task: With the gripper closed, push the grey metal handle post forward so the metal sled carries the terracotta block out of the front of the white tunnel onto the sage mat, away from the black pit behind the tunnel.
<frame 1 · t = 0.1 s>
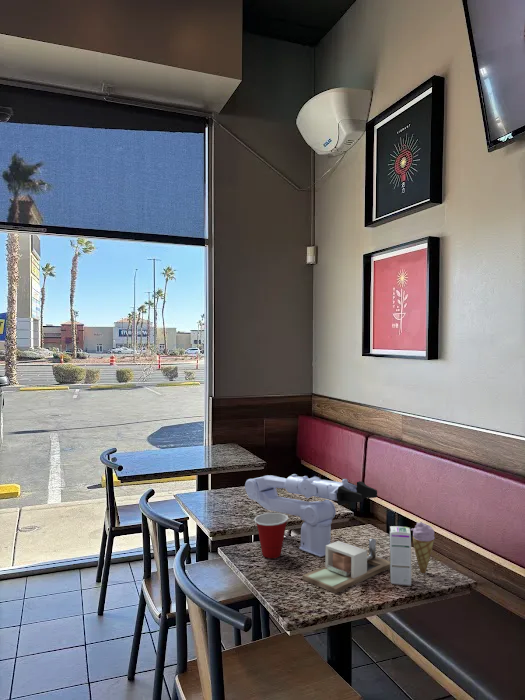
hand: (369, 496, 159), 22 cm above the table, tool horizontal, fingers open, 7 cm apart
terracotta block: (342, 567, 154), point 2 cm above the table, touching sled
ice cream cone: (422, 572, 157), on the table
tunnel: (345, 558, 155), on the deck, point 4 cm above the table
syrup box: (400, 581, 151), on the table
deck: (345, 574, 155), on the table
plastic cup: (270, 555, 169), on the table
sled: (356, 555, 159), point 4 cm above the table, slide at 0.0 cm, touching terracotta block
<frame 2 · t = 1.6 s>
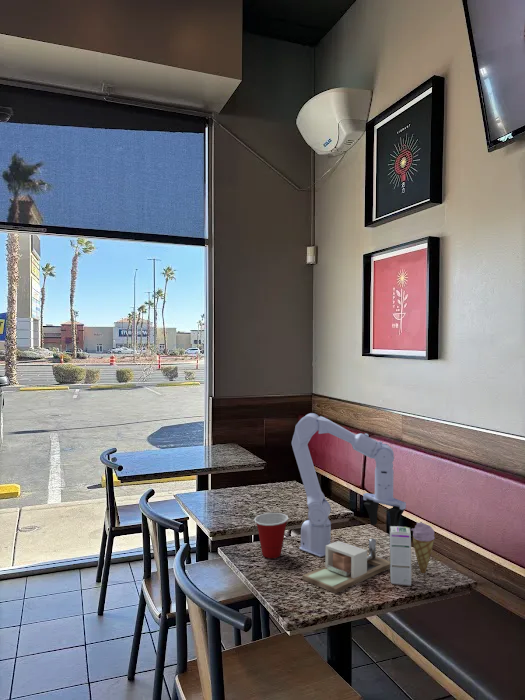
hand: (383, 527, 168), 9 cm above the table, tool pointing down, fingers open, 7 cm apart
nothing on the table moved.
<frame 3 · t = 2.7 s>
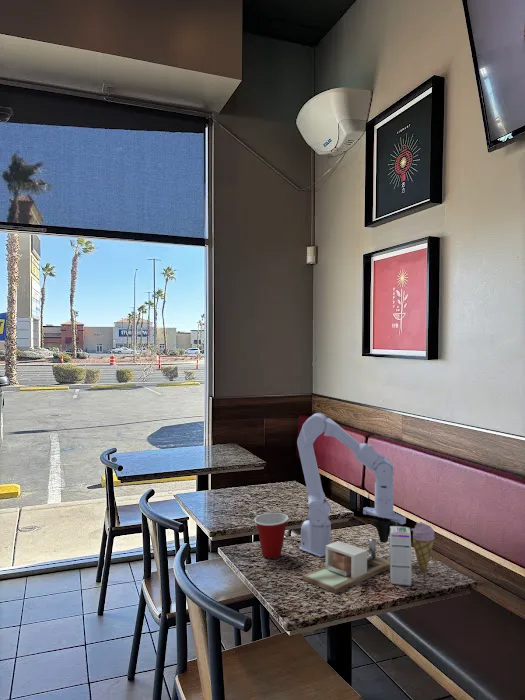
hand: (383, 541, 168), 5 cm above the table, tool pointing down, fingers closed
nothing on the table moved.
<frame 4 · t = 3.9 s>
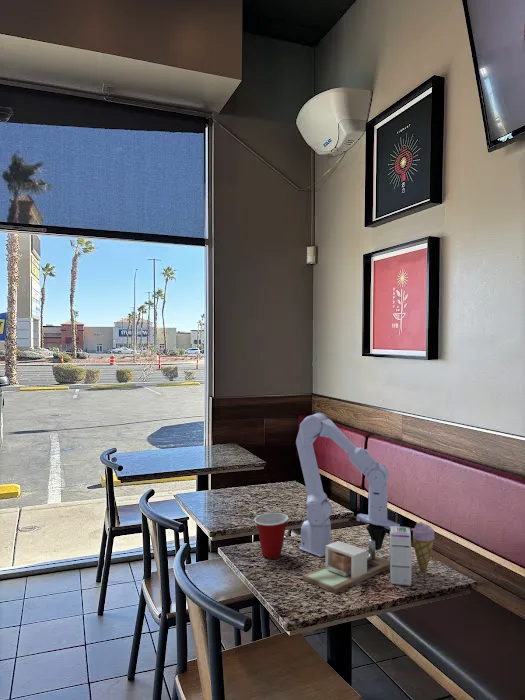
hand: (377, 549, 166), 3 cm above the table, tool pointing down, fingers closed, pressing on sled
sled: (355, 555, 158), point 4 cm above the table, slide at 0.2 cm, touching gripper, terracotta block
everything else where it was.
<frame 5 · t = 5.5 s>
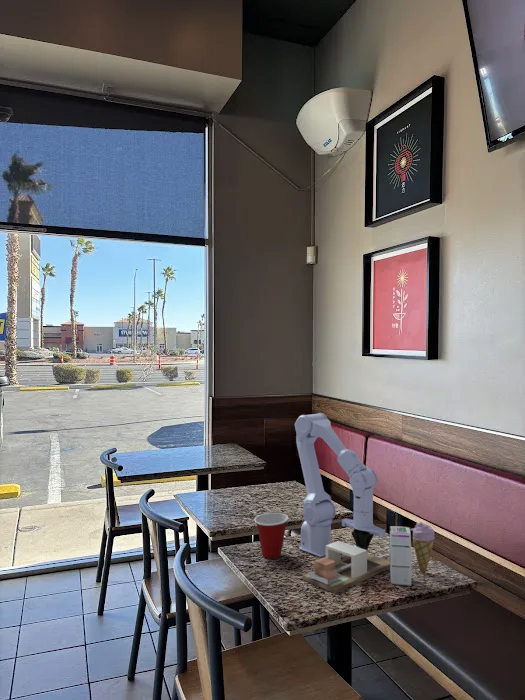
hand: (362, 555, 161), 3 cm above the table, tool pointing down, fingers closed, pressing on sled
terracotta block: (324, 575, 149), point 2 cm above the table, touching sled
sled: (339, 562, 153), point 4 cm above the table, slide at 7.8 cm, touching gripper, terracotta block
everything else where it was.
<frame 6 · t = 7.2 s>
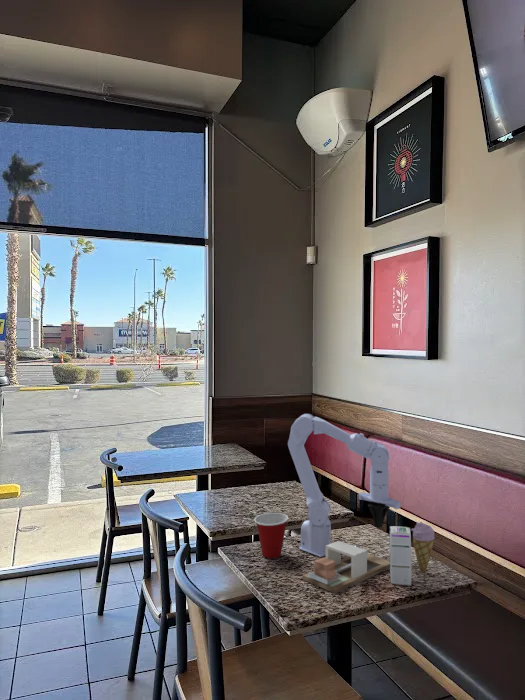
hand: (378, 526, 169), 9 cm above the table, tool pointing down, fingers closed
sled: (339, 562, 153), point 4 cm above the table, slide at 8.0 cm, touching terracotta block
everything else where it was.
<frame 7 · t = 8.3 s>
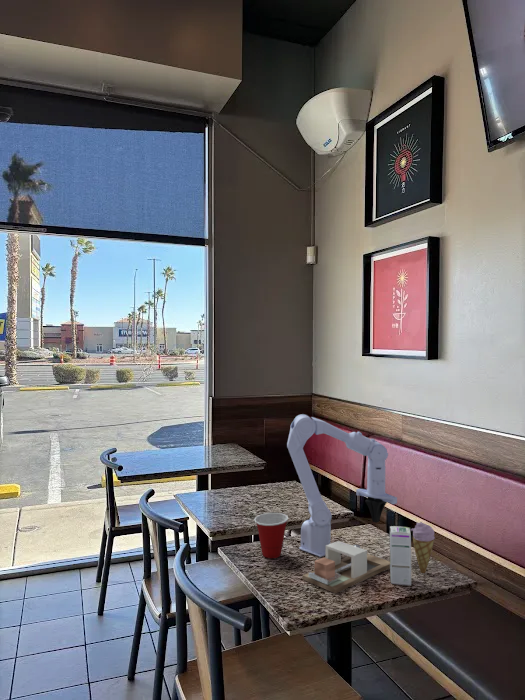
hand: (375, 521, 174), 9 cm above the table, tool pointing down, fingers closed
nothing on the table moved.
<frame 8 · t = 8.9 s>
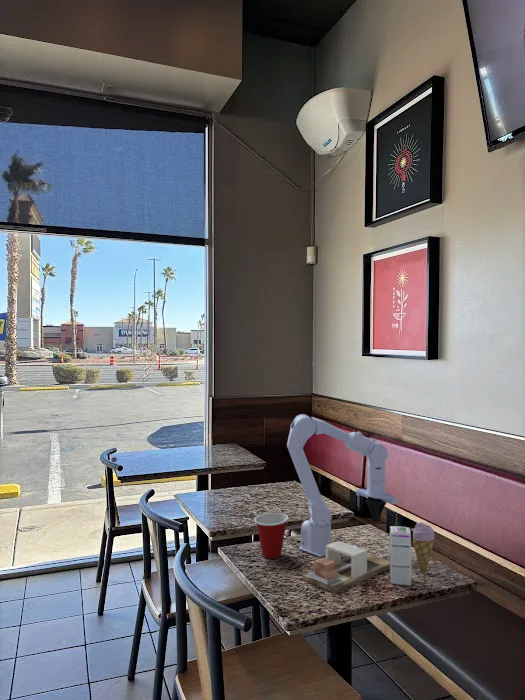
hand: (375, 521, 174), 9 cm above the table, tool pointing down, fingers closed
nothing on the table moved.
at the end: sled slide at 8.0 cm; terracotta block 0.8 cm from the target spot on the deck, point 2.2 cm above the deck's base; terracotta block tilted 0° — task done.
